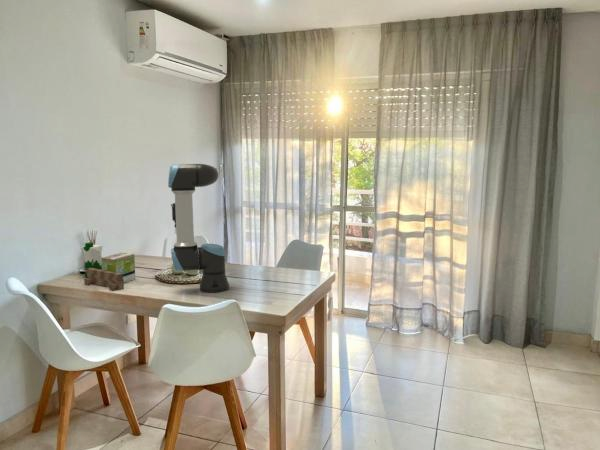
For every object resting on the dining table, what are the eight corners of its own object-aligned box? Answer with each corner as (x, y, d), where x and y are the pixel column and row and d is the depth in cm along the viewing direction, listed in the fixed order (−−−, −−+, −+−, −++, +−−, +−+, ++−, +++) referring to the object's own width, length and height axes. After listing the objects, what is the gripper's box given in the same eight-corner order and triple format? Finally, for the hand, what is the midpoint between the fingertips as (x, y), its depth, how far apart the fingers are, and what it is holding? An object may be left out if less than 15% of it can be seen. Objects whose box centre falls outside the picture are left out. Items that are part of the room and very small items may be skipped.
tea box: (117, 286, 252) (115, 259, 249) (102, 284, 255) (100, 257, 253) (136, 279, 266) (134, 253, 263) (121, 277, 269) (120, 251, 267)
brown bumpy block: (123, 288, 247) (122, 273, 246) (115, 291, 242) (114, 276, 241) (91, 281, 260) (90, 267, 258) (82, 284, 255) (81, 269, 254)
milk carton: (82, 277, 268) (79, 243, 265) (94, 274, 276) (92, 240, 273) (94, 279, 265) (91, 244, 261) (106, 275, 273) (104, 241, 270)
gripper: (188, 199, 288) (182, 237, 282) (170, 193, 279) (163, 231, 273) (195, 197, 283) (189, 235, 277) (177, 190, 274) (170, 229, 268)
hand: (176, 233), depth 275 cm, fingers closed
